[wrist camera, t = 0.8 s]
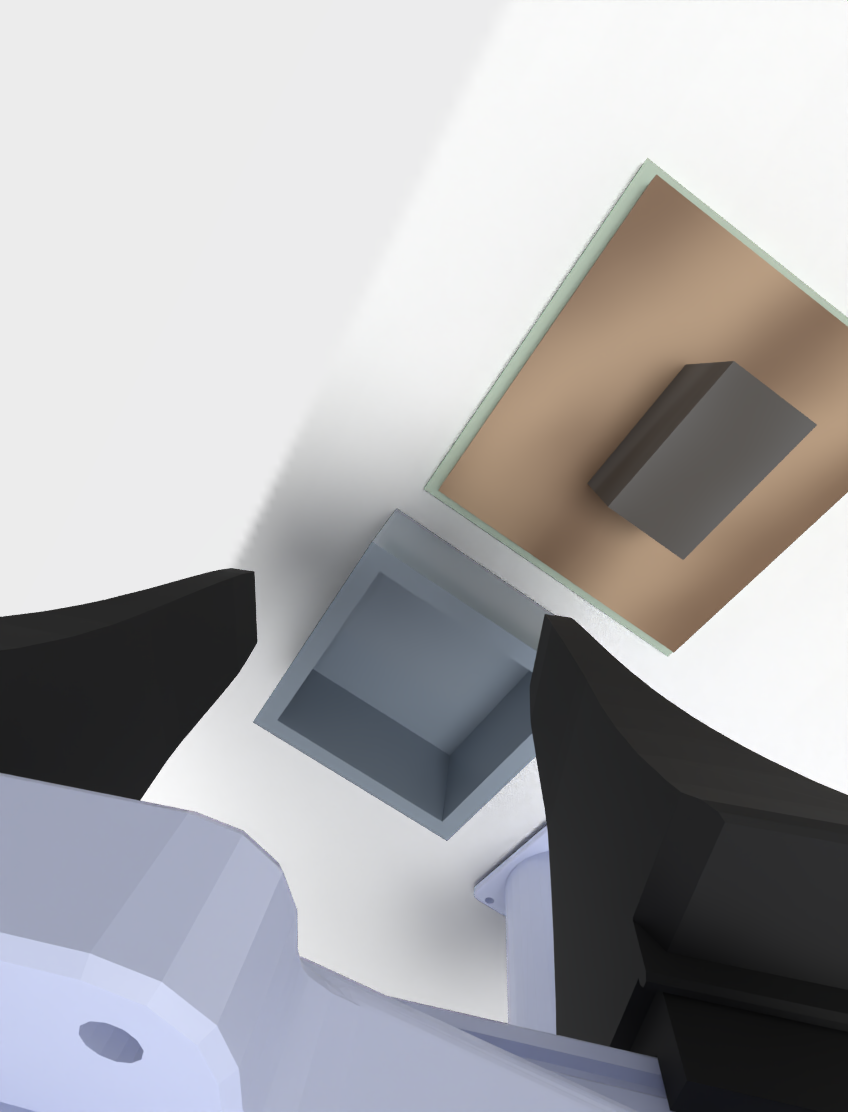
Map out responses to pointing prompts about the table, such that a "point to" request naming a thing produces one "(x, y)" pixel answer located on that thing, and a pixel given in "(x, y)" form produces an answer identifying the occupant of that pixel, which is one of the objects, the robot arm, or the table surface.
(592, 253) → the sage mat
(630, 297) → the walnut lid
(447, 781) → the slate dish
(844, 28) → the table surface
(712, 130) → the table surface
